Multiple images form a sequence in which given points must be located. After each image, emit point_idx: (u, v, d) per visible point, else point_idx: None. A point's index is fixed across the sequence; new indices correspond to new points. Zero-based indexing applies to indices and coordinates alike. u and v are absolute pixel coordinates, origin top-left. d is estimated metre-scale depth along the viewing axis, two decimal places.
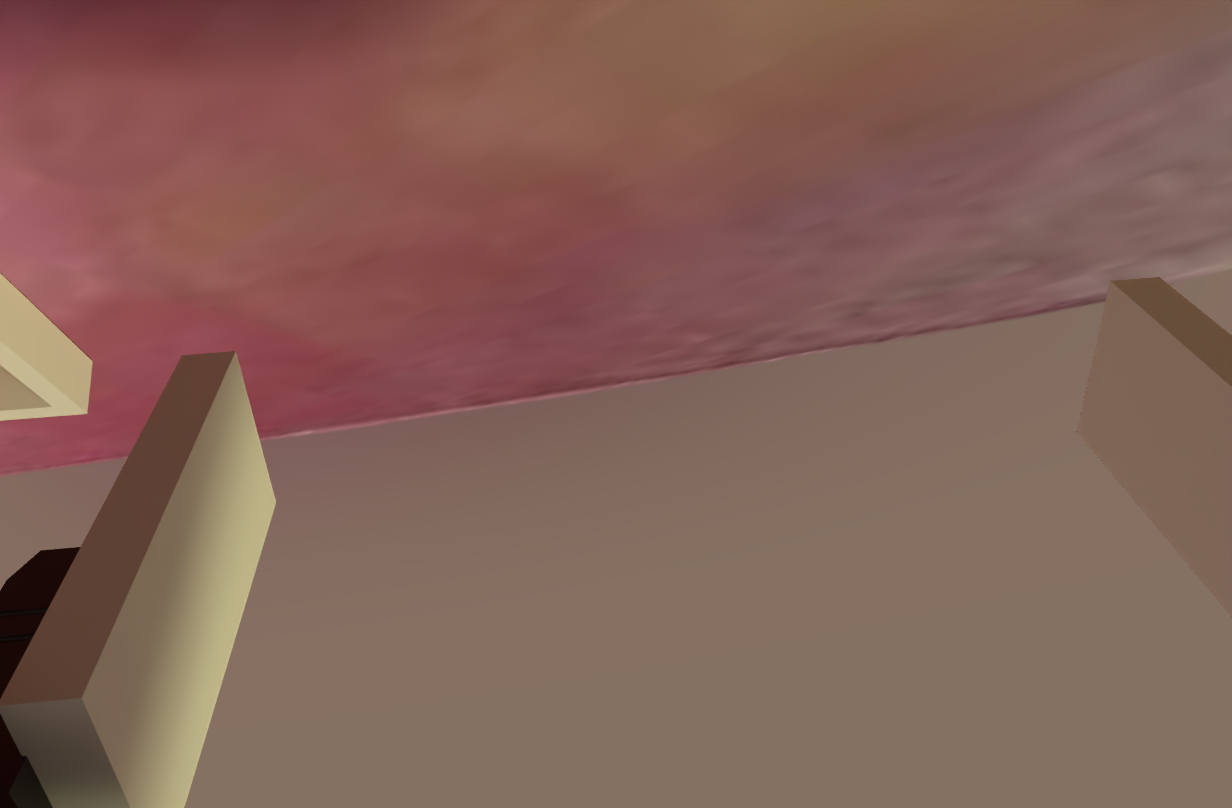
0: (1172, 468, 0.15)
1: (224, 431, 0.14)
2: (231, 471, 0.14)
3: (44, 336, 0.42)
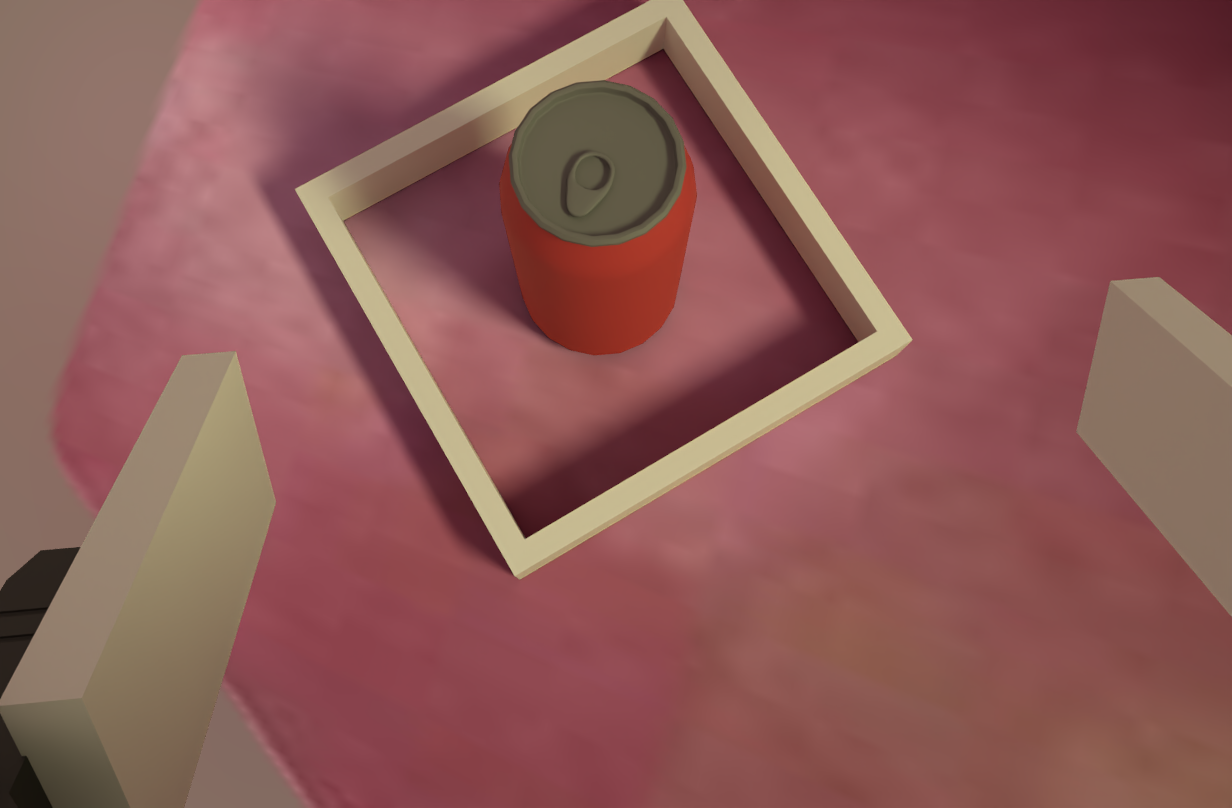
0: (1171, 468, 0.15)
1: (224, 431, 0.14)
2: (231, 471, 0.14)
3: (611, 523, 0.42)
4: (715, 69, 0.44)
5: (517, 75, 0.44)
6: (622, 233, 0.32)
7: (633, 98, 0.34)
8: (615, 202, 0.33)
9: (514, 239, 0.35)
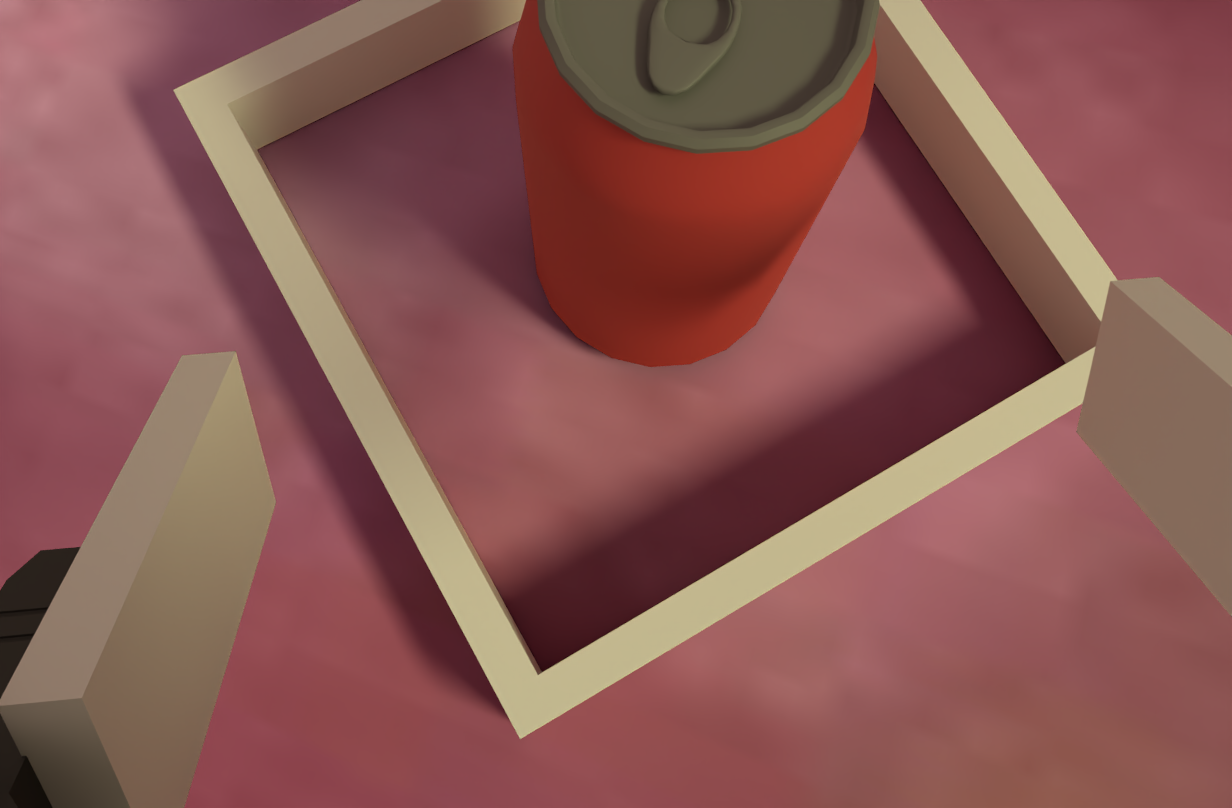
0: (1172, 468, 0.15)
1: (224, 431, 0.14)
2: (231, 471, 0.14)
3: None
4: None
5: None
6: (759, 127, 0.16)
7: None
8: (741, 71, 0.17)
9: (539, 148, 0.19)
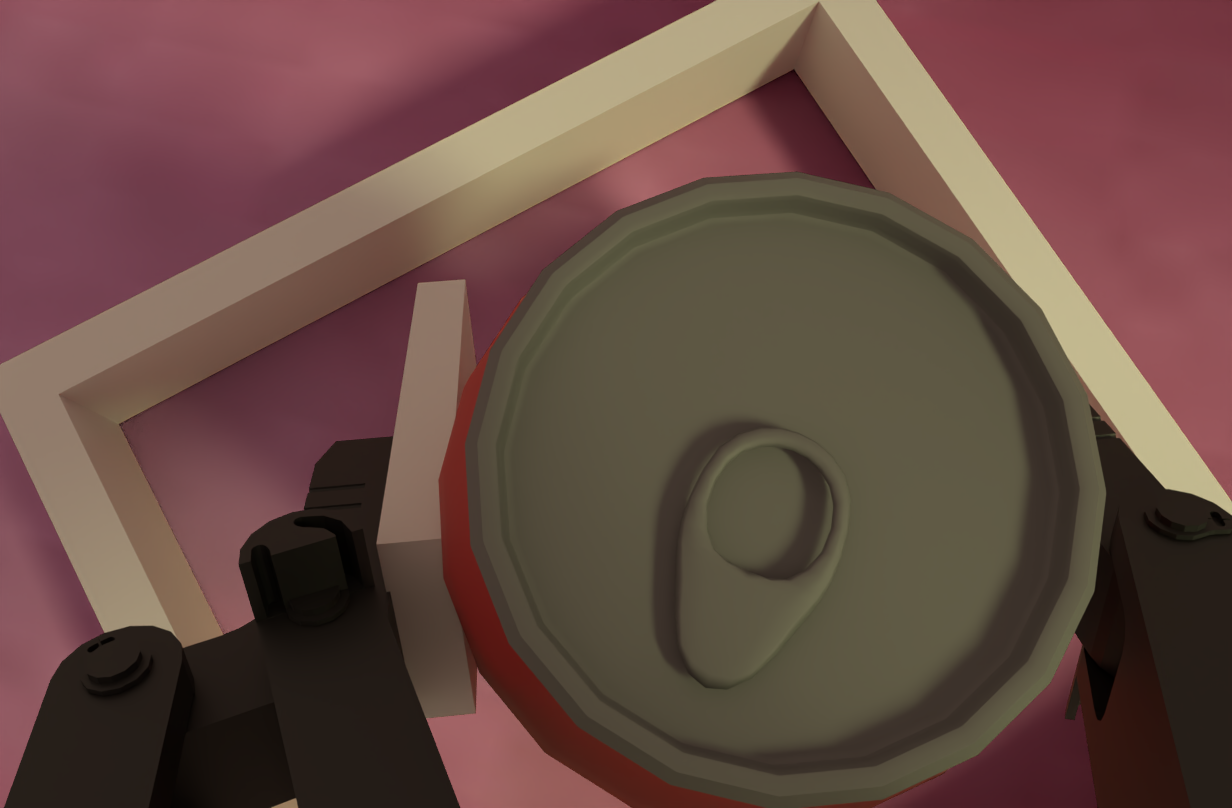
0: None
1: (466, 347, 0.16)
2: None
3: None
4: (928, 115, 0.20)
5: (498, 121, 0.20)
6: (895, 766, 0.08)
7: (900, 236, 0.10)
8: (851, 622, 0.09)
9: (483, 675, 0.11)
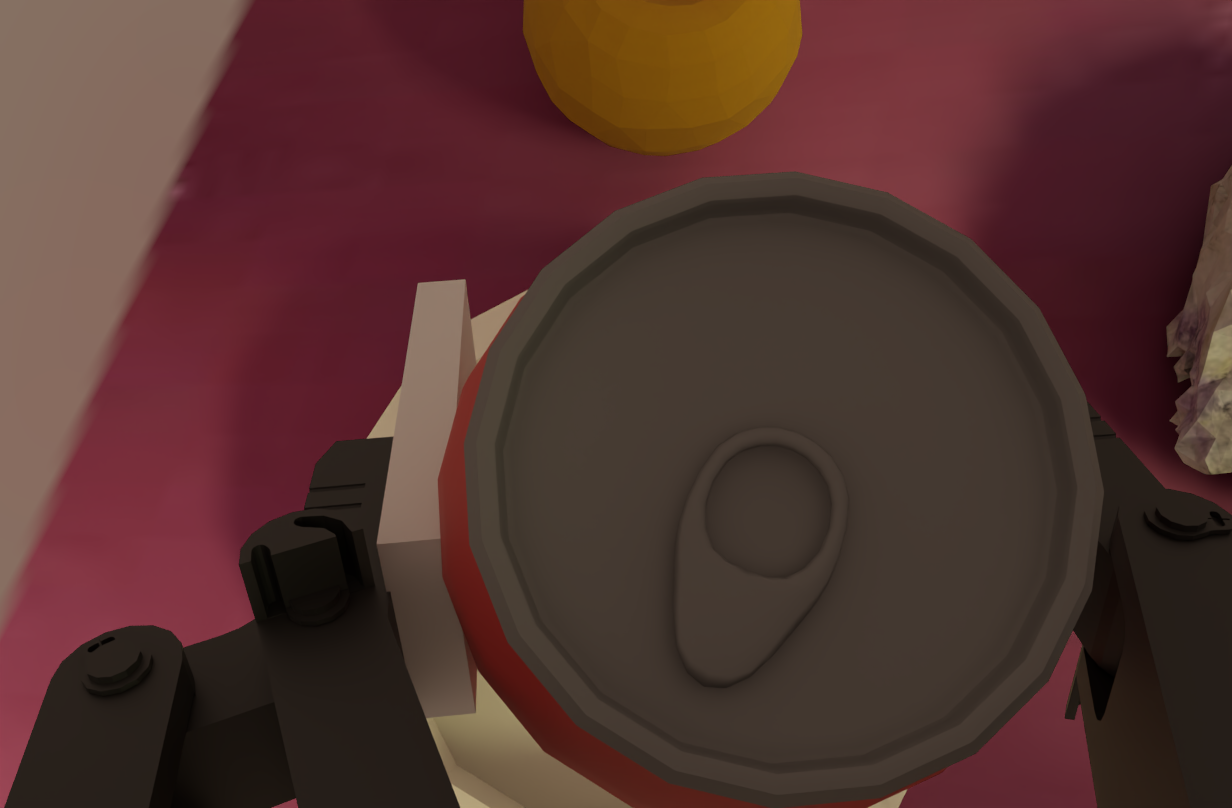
0: None
1: (466, 347, 0.16)
2: None
3: None
4: None
5: None
6: (893, 764, 0.09)
7: (899, 236, 0.10)
8: (851, 620, 0.09)
9: (482, 674, 0.11)
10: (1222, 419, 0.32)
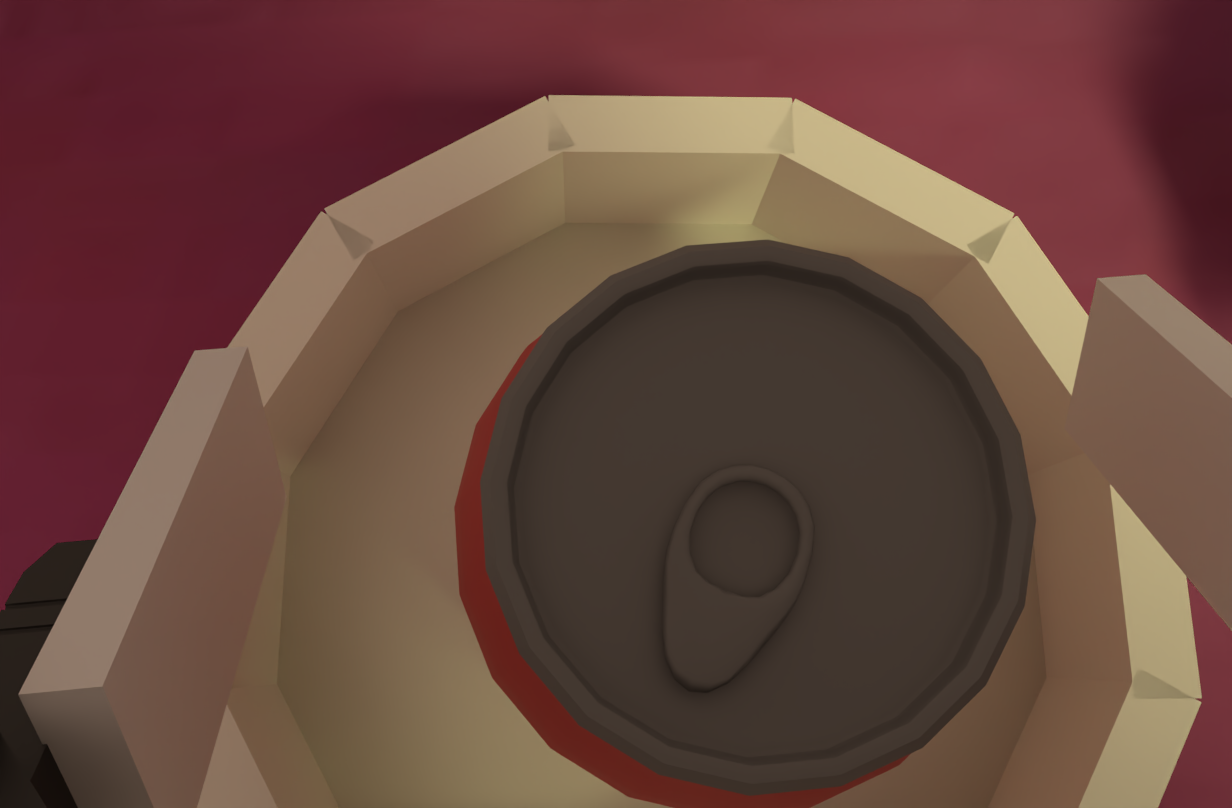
0: (1157, 464, 0.15)
1: (236, 426, 0.14)
2: (243, 465, 0.15)
3: None
4: None
5: None
6: (851, 757, 0.10)
7: (859, 296, 0.11)
8: (815, 633, 0.10)
9: (495, 680, 0.12)
10: None
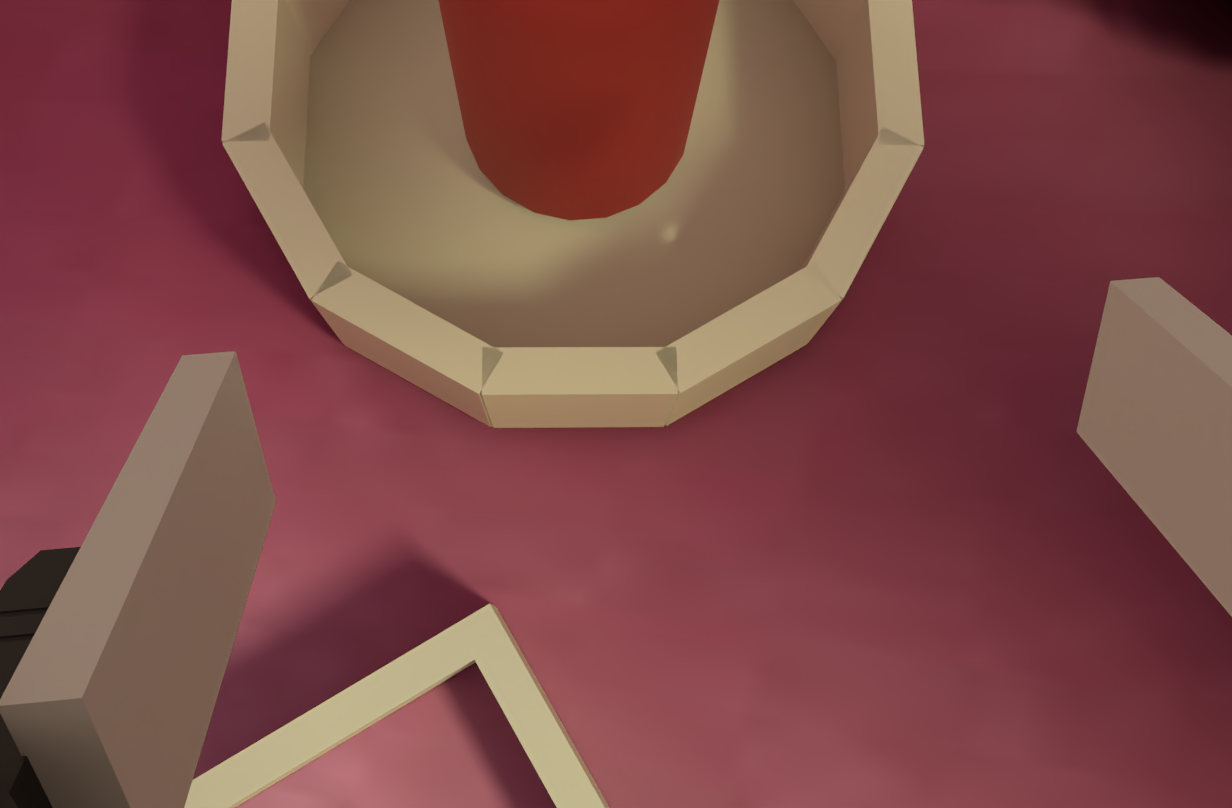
0: (1172, 469, 0.15)
1: (223, 431, 0.14)
2: (231, 471, 0.14)
3: None
4: (554, 761, 0.26)
5: (211, 776, 0.25)
6: None
7: None
8: None
9: None
10: None
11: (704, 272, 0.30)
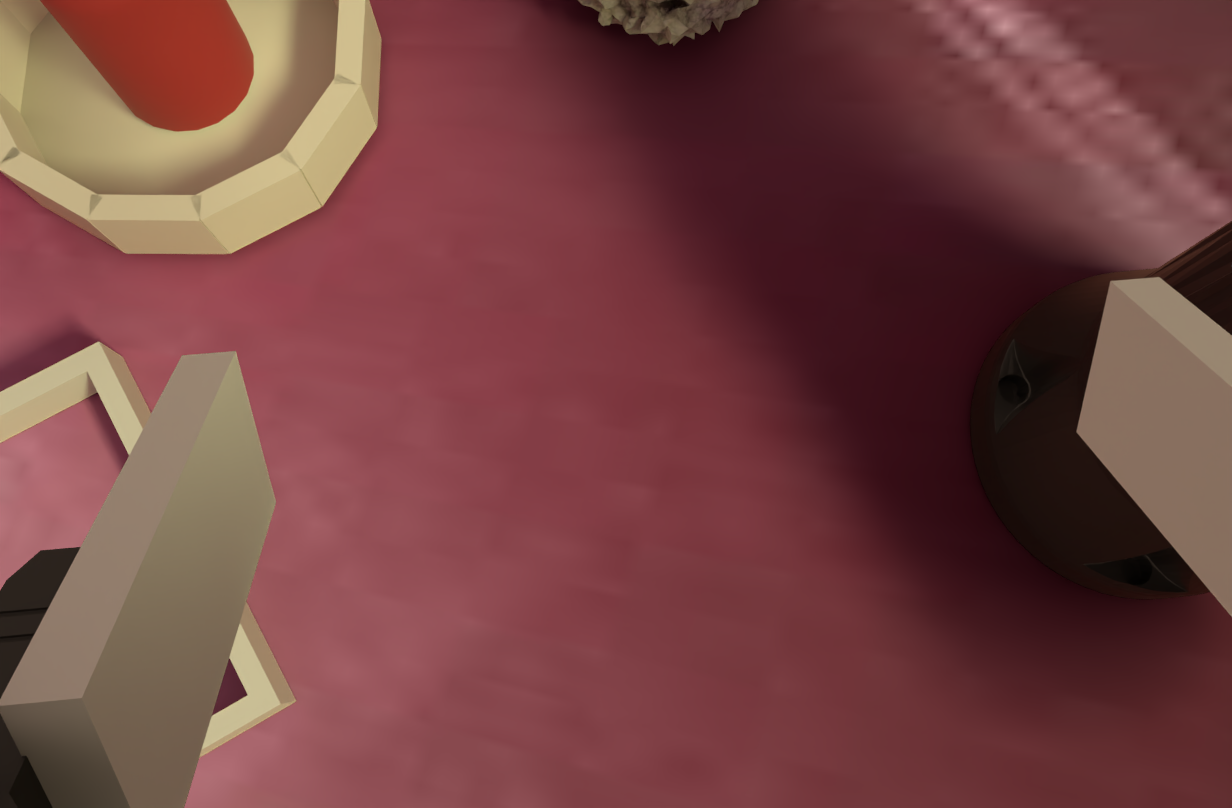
0: (1172, 468, 0.15)
1: (224, 432, 0.14)
2: (231, 471, 0.14)
3: None
4: (127, 425, 0.46)
5: None
6: None
7: None
8: None
9: None
10: None
11: (258, 163, 0.51)
